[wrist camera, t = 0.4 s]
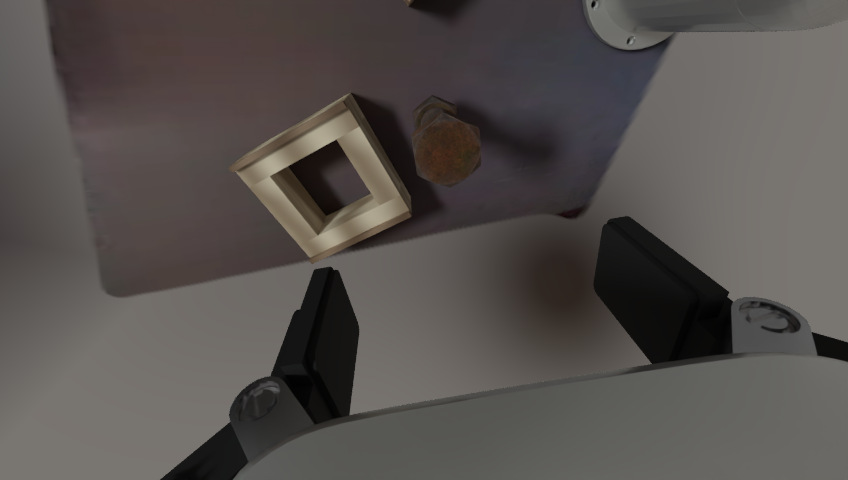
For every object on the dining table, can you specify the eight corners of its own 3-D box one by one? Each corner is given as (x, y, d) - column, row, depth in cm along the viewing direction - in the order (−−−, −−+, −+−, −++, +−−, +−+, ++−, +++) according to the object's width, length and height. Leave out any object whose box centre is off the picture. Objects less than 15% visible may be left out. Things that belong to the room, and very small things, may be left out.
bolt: (464, 101, 37) (497, 136, 24) (446, 143, 39) (467, 195, 26) (416, 79, 35) (424, 105, 23) (400, 124, 38) (399, 170, 25)
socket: (350, 92, 36) (342, 101, 31) (410, 196, 43) (411, 216, 38) (249, 151, 38) (227, 167, 34) (321, 240, 45) (312, 264, 41)
